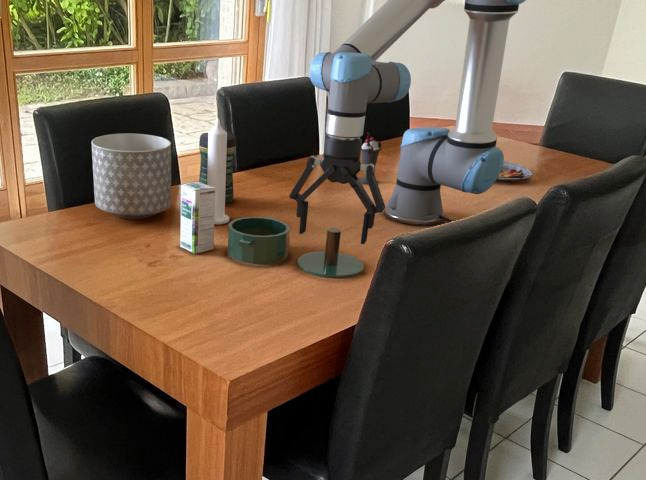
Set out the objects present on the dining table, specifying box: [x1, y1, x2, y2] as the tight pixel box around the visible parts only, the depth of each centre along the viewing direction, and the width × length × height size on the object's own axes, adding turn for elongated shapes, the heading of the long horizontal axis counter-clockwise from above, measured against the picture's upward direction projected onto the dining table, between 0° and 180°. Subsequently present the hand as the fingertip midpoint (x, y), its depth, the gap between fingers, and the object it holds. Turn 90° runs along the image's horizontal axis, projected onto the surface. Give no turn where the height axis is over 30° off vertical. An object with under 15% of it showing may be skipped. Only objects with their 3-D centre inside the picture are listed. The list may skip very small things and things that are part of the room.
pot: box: [227, 216, 291, 265], centre depth 167 cm, size 14×19×7 cm
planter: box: [91, 133, 172, 221], centre depth 185 cm, size 19×19×18 cm
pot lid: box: [296, 227, 365, 279], centre depth 162 cm, size 15×15×9 cm
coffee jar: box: [198, 130, 237, 204], centre depth 199 cm, size 10×8×19 cm
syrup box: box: [179, 181, 215, 255], centre depth 167 cm, size 6×6×14 cm
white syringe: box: [207, 117, 231, 225], centre depth 183 cm, size 7×7×25 cm
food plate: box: [497, 160, 534, 182], centre depth 244 cm, size 25×23×4 cm
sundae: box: [359, 131, 382, 185], centre depth 226 cm, size 7×7×15 cm
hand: (332, 237), depth 161 cm, fingers open, 13 cm apart
